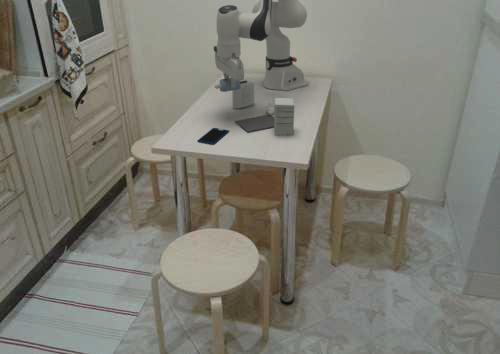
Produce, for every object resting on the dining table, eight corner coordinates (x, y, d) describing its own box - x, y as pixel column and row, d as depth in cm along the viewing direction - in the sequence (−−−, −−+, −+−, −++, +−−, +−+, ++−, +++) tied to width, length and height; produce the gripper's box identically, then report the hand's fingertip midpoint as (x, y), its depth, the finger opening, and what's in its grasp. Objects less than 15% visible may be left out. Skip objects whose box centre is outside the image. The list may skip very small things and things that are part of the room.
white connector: (267, 108, 207) (267, 102, 205) (274, 108, 206) (274, 102, 205) (266, 117, 198) (266, 110, 197) (274, 117, 198) (274, 110, 197)
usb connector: (244, 85, 195) (244, 75, 193) (248, 87, 192) (248, 78, 190) (213, 90, 190) (213, 80, 188) (217, 93, 187) (216, 83, 185)
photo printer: (250, 102, 214) (250, 75, 208) (255, 105, 211) (255, 78, 204) (231, 107, 209) (230, 79, 203) (236, 109, 206) (235, 82, 200)
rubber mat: (269, 115, 200) (269, 114, 199) (283, 125, 190) (283, 124, 190) (234, 122, 194) (234, 120, 193) (247, 132, 184) (247, 131, 184)
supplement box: (273, 128, 188) (274, 97, 182) (292, 128, 188) (293, 97, 182) (274, 135, 182) (274, 104, 176) (293, 135, 182) (294, 104, 176)
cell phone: (230, 131, 186) (230, 130, 186) (213, 146, 175) (213, 144, 175) (213, 129, 189) (213, 127, 188) (196, 142, 178) (196, 141, 177)
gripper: (248, 56, 176) (248, 91, 183) (226, 43, 192) (227, 77, 199) (232, 58, 174) (233, 94, 181) (211, 45, 190) (213, 79, 197)
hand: (230, 85), depth 190 cm, fingers closed on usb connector, 4 cm apart
